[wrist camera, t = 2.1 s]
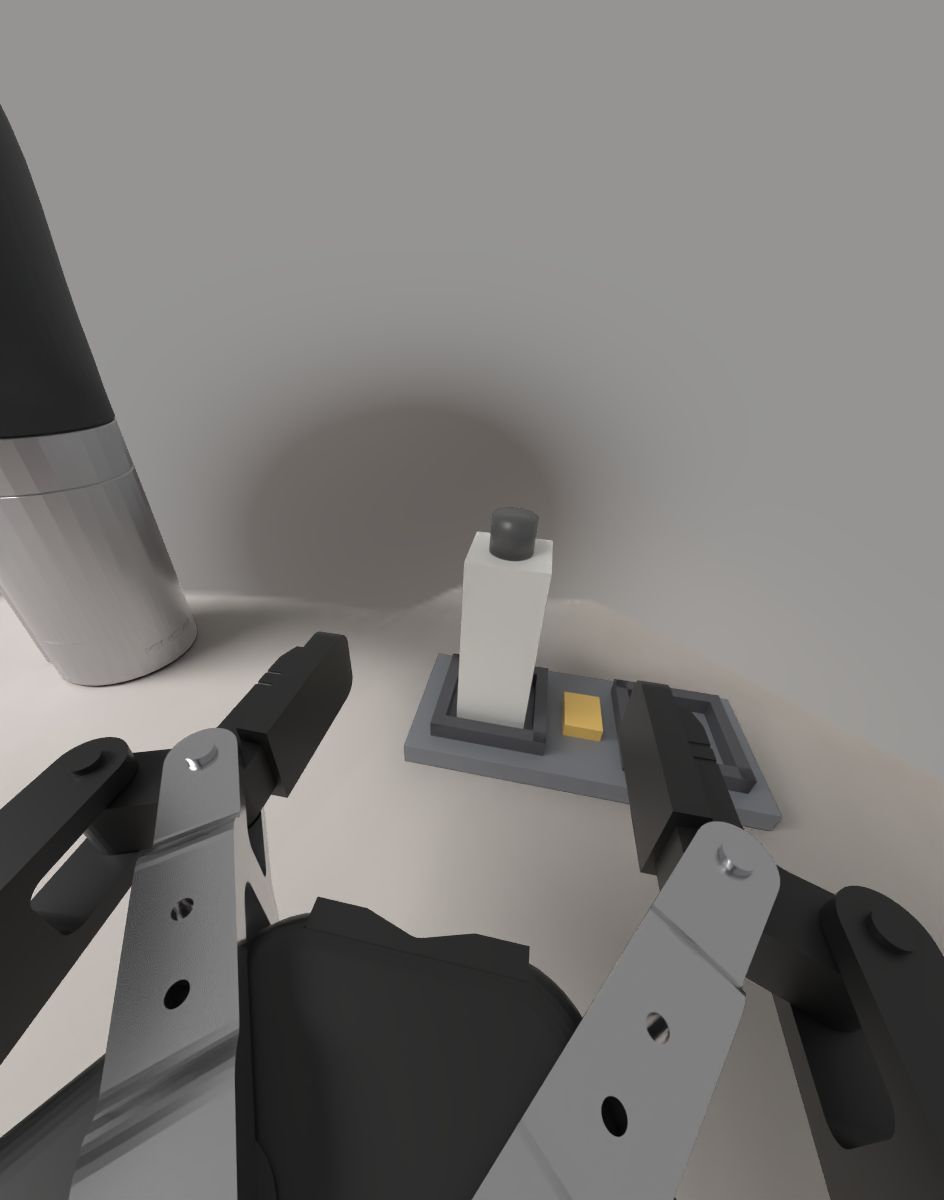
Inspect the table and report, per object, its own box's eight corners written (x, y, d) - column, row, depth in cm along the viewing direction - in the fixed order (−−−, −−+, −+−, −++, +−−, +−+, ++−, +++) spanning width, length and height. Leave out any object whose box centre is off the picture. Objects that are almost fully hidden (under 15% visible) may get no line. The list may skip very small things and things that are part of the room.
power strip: (404, 760, 26) (403, 732, 25) (438, 667, 34) (439, 641, 32) (770, 831, 24) (792, 804, 22) (719, 713, 31) (734, 688, 30)
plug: (456, 722, 27) (466, 525, 20) (467, 680, 31) (479, 498, 23) (522, 734, 27) (558, 536, 19) (526, 690, 30) (558, 507, 23)
